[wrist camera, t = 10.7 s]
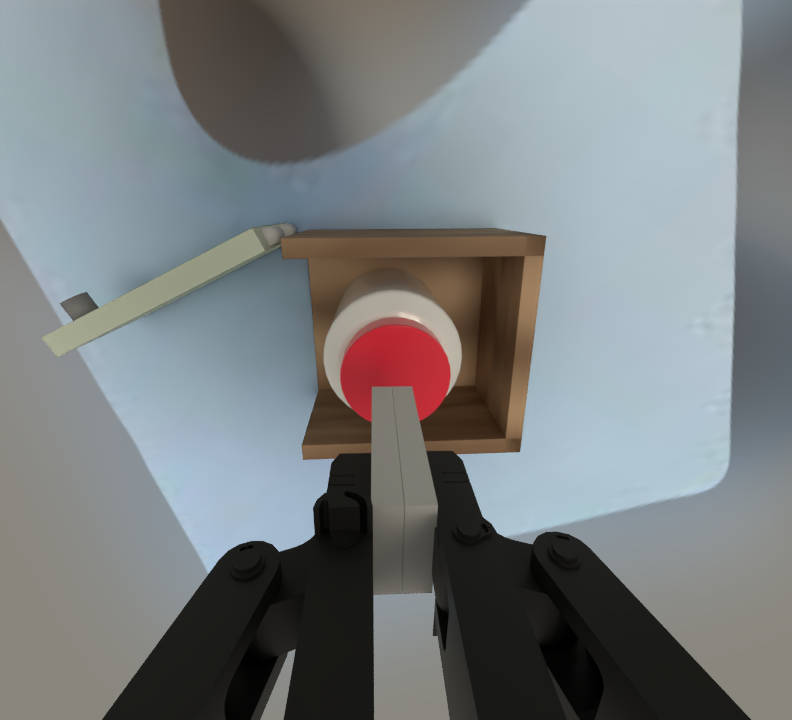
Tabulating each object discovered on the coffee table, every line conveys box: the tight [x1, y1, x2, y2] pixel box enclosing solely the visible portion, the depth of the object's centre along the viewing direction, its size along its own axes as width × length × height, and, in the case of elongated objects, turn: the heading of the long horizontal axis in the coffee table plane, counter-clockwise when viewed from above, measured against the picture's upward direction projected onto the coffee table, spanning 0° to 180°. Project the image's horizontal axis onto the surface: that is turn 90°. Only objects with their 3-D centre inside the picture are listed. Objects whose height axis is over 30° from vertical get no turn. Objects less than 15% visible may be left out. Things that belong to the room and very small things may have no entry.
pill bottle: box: [323, 268, 462, 422], centre depth 25 cm, size 8×8×11 cm
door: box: [42, 223, 297, 357], centre depth 24 cm, size 13×2×9 cm, turn 115°
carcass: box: [281, 228, 546, 460], centre depth 27 cm, size 13×14×9 cm
